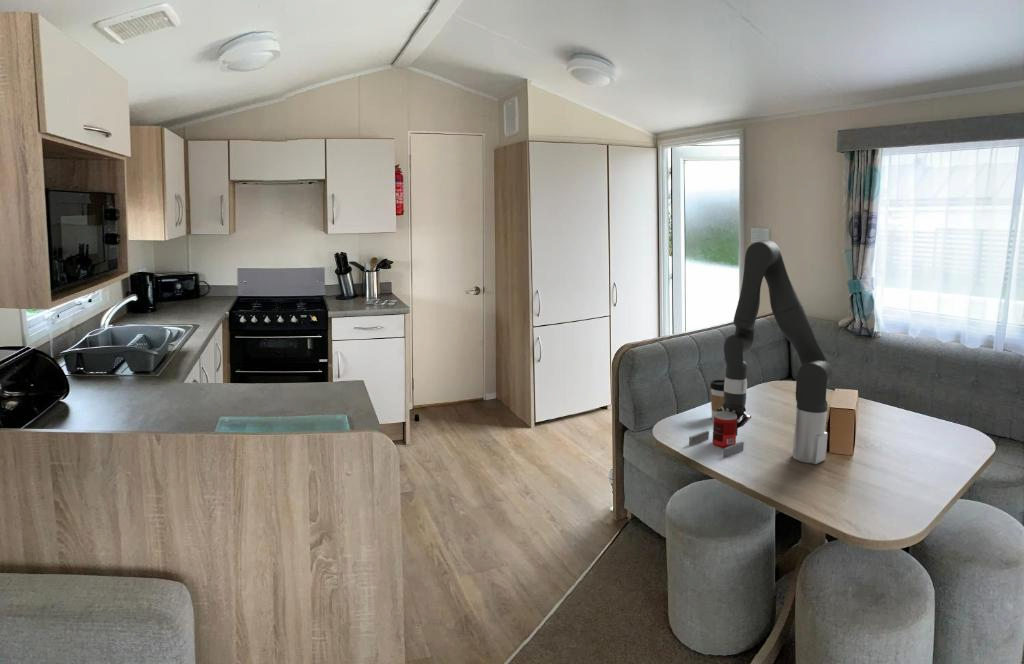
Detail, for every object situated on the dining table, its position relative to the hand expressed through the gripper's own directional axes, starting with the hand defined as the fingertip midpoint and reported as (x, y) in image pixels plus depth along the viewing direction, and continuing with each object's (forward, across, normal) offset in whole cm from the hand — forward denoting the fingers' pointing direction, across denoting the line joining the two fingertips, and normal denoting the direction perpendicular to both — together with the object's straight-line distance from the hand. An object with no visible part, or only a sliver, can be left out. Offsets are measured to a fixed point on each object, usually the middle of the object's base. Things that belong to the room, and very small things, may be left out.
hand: (732, 437), depth 248 cm
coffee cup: (+2, +17, -17) cm, 24 cm away
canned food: (+2, 0, +5) cm, 5 cm away
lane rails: (+2, 0, +10) cm, 10 cm away
